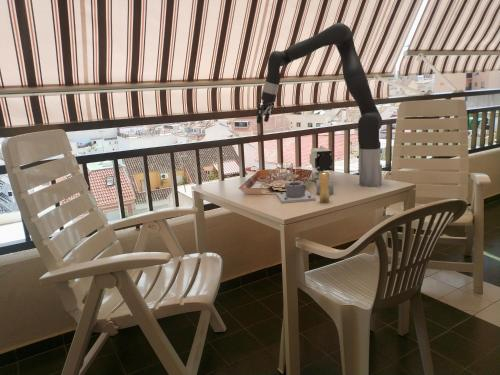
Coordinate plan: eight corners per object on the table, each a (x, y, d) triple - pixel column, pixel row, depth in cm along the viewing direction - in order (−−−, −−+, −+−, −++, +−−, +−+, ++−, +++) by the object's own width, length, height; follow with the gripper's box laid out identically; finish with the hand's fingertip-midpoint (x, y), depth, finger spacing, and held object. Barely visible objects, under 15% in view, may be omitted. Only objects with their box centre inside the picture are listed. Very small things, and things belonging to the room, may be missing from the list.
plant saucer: (285, 195, 170) (285, 188, 169) (261, 189, 184) (260, 183, 183) (313, 187, 180) (313, 181, 179) (288, 182, 194) (288, 176, 193)
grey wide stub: (330, 191, 171) (330, 178, 169) (335, 194, 164) (335, 181, 162) (314, 192, 170) (314, 179, 169) (319, 196, 163) (318, 182, 162)
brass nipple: (327, 200, 156) (327, 171, 153) (330, 202, 152) (330, 173, 150) (318, 200, 156) (318, 172, 153) (321, 203, 152) (320, 174, 149)
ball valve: (308, 178, 200) (307, 144, 196) (324, 176, 201) (324, 143, 197) (315, 185, 183) (315, 148, 179) (333, 184, 183) (332, 147, 179)
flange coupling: (307, 192, 170) (306, 179, 169) (315, 200, 157) (315, 186, 155) (276, 195, 169) (275, 182, 168) (282, 203, 156) (281, 189, 154)
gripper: (270, 94, 185) (262, 126, 192) (282, 93, 197) (274, 123, 204) (257, 90, 188) (249, 121, 194) (269, 89, 200) (262, 119, 206)
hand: (262, 122), depth 199 cm, fingers open, 8 cm apart
